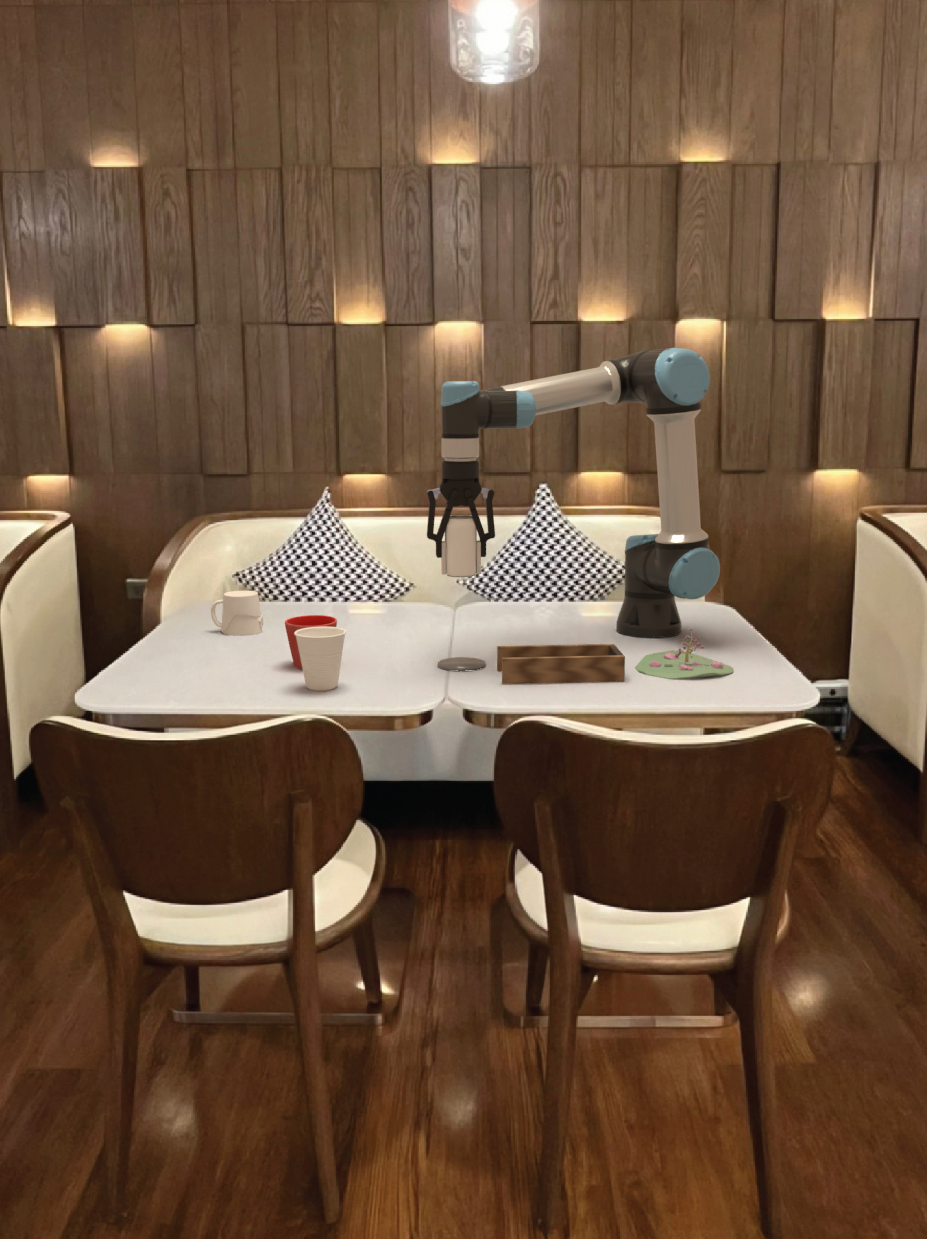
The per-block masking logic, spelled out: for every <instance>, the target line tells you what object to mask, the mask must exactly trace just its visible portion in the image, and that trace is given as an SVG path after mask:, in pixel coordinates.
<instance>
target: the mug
mask: <svg viewBox="0 0 927 1239" xmlns="http://www.w3.org/2000/svg"><path fill="white" fill-rule="evenodd" d="M219 604H222V613H221V614H222V615H221V621H219V620H218V618H217V615H216V607H217V605H219ZM261 611H262V610H261V604H260V599H259V593H258V592H257V591H254V590H233V591H227V592H224V593H223V598H221V599H217V600H216V601H214V602H213V603H212V605H211V607H210V616H211V619H212V621H213V623H214V625H216V627H218V628H220V631H221V633H222V634H224V635H226V636H240V637H241V636H254V635H259V634H262V633H264V631H263V626H264V617H263V616H261V615H262V612H261Z"/></svg>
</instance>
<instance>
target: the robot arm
mask: <svg viewBox="0 0 927 1239" xmlns="http://www.w3.org/2000/svg"><path fill="white" fill-rule="evenodd" d="M710 375H711V374H710V370H709V367H708V365H707V363H706V361H705V360H704V358H703V357H702V356H700V354H699V353H698V352H696V351H694V350H692V349H688V348H682V347H671V348H660V349H659V348H658V349H657V348H656V349H646V350H645V349H644V350H640V351H638V352H635V353H631V354H628V355H625V356H621V357H618V358H614V359H610V360H605V361H604V360H603V361H602V362H601V363H600V365H599V366H598V367H594V368H588V369H583V370H577V371H573V372H568V373H562V374H557V375H552V376H551V375H550V376H547V377H542V378H538V379H537V378H536V379H532V380H531V379H530V380H526V381H522V382H521V381H520V382H516V383H511V384H505V385H501V386H499V387H498V386H497V387H492V388H491V387H490V388H486V389H480V384H479V383H478V381H476V380H459V381H458V380H456V381H455V380H453V381H445V382H444V383H442V386H441V392H440V417H441V418H440V421H441V457H442V458H443V459H444V460H443V461H442V462H441V482H440V485H439V487H437V488H434V489H431V488H430V489H428V490H427V491H426V493H427V497H428V500H429V501H428V502H429V503H428V513H427V514H428V515H427V526H426V527H427V528H426V538H427V539H428V540H431V541H433V542H435V556H436V558H438V559H441V574H442V575H444V576H445V575H446V576H447V574H446V543H445V540H443V537H445V529H446V526H447V523H448V520H449V517H450V516H451V515H452V511H453V509H454V507H459V506H463V507H468V509H469V512H470V515H471V516H472V517H473V519H474V522H475V525H476V528H477V535H478V539H479V540H477V573H476V575H481V574H482V558H486V556H487V542H488V541H489V540H491V539H495V537H496V531H495V530H496V528H495V520H494V508H493V507H494V506H493V499H494V496H495V491H494V490H493V489H492V488H486V487H483V486H482V484H481V482H480V462H479V460H478V458H479V457H480V429H481V430H486V429H493V430H494V429H497V430H498V429H507V430H508V429H515V430H518V429H526V428H529V427H531V426H532V425H533V424H534V421H535V419H536V416H539V415H546V414H549V413H554V412H555V413H556V412H558V411H565V410H568V409H569V410H570V409H574V408H578V407H584V406H585V407H586V406H589V405H595V404H598V403H603V402H605V403H606V404H607V405H611V406H612V405H617V404H623V403H624V404H626V403H627V404H628V403H635V404H636V403H637V404H638V403H639V404H645V415H646V417H648V418H649V419H650V420H651V421H652V422H653V425H654V440H655V443H654V444H655V454H656V455H655V456H656V470H657V486H658V500H659V517H660V530H661V531H660V532H659V533H653V534H652V533H651V534H638V535H637V534H636V535H635V534H634V535H630V536H628V537H627V539H626V541H625V546H624V547H625V549H624V559H625V560H624V599H623V602H622V604H621V607H620V610H619V612H618V616H617V619H616V625H615V626H616V629H615V630H616V632H618V633H619V634H621V635H625V636H631V637H639V638H665V637H666V638H668V637H673V636H677V635H680V634H681V633H682V620H681V617H680V614H679V610H678V606H677V603H676V601H675V600H676V599H675V598H678V599H684V600H685V599H687V600H698V599H700V598H703V597H705V596H706V595H708V594H709V593H710V592H711V591H712V590H713V588H714V587H715V586H716V584H717V583H718V581H719V578H720V574H721V563H720V560H719V557H718V556H717V555H716V554H715V553H714V552H713V550H711V549H710V544H709V543H710V542H709V534H708V533H707V531H706V532H705V530H703V529H702V528H701V526H702V525H701V524H702V523H701V510H700V509H701V508H700V506H701V505H700V493H699V492H700V491H699V478H698V477H699V476H698V475H699V474H698V473H699V472H698V456H697V443H696V442H697V441H696V438H697V437H696V425H695V424H696V423H695V420H696V417H697V416H698V414H700V412H701V411H702V404H701V403H702V402H701V400H703V399H704V397H705V396H706V393H707V392H708V390H709V388H710V384H711V382H710V381H711V377H710ZM480 493H481V494H482V498H483V499H484V500H485V512H486V524H487V532H485V530H484V528H483V526H482V525H483V524H482V522H481V518H480V516H479V513H478V510H477V507H476V504H475V500H476V499H477V498H478V496H479V495H480ZM440 494H441V495H442V496H443V498H444V499H445V501H446V504H445V508H444V511H443V513H442V518H441V520H440V523H439V526H438V529H437V532H436V533H434V530H435V517H436V505H437V504H436V503H437V502H436V500H438V499H439V495H440Z"/></svg>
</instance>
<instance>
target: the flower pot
mask: <svg viewBox="0 0 927 1239" xmlns="http://www.w3.org/2000/svg"><path fill="white" fill-rule="evenodd" d="M337 624H338V620H337V618H336V617H334V616H331V615H323V614H319V615H318V614H315V615H314V614H313V615H312V614H311V615H309V614H308V615H300V616H299V615H298V616H294V617H290V618H287V619H285V621H284V627H285V632H286V636H287V641H288V645H289V646H288V647H289V649H290V654H291V658H292V661H293V663H292V664H293V666H294V667H295V668H296V669H300V670H303V669H302V663H301V658H300V653H299V649H298V644H297V639H296V636H295V635H294V632H295V631H297V630H299V629H303V628H309V627H337Z"/></svg>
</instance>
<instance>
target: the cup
mask: <svg viewBox="0 0 927 1239" xmlns="http://www.w3.org/2000/svg"><path fill="white" fill-rule="evenodd" d="M346 634H347V630H346V629H345V628H341V627H337V626H336V627H309V628H303V629H299V630H297V631H295V632H294V635H295V636H296V639H297V644H298V649H299V653H300V658H301V663H302V669H301V670H302V673H303V678H304V683H305V687H306V688H307V689H308V690H310V691H318V692H319V691H320V692H321V691H322V692H325V691H331V690H333V689H336V688H337V686H338V685H339V680H340V673H341V672H340V671H341V664H342V656H343V650H344V644H345V643H344V642H345V636H346Z"/></svg>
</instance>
